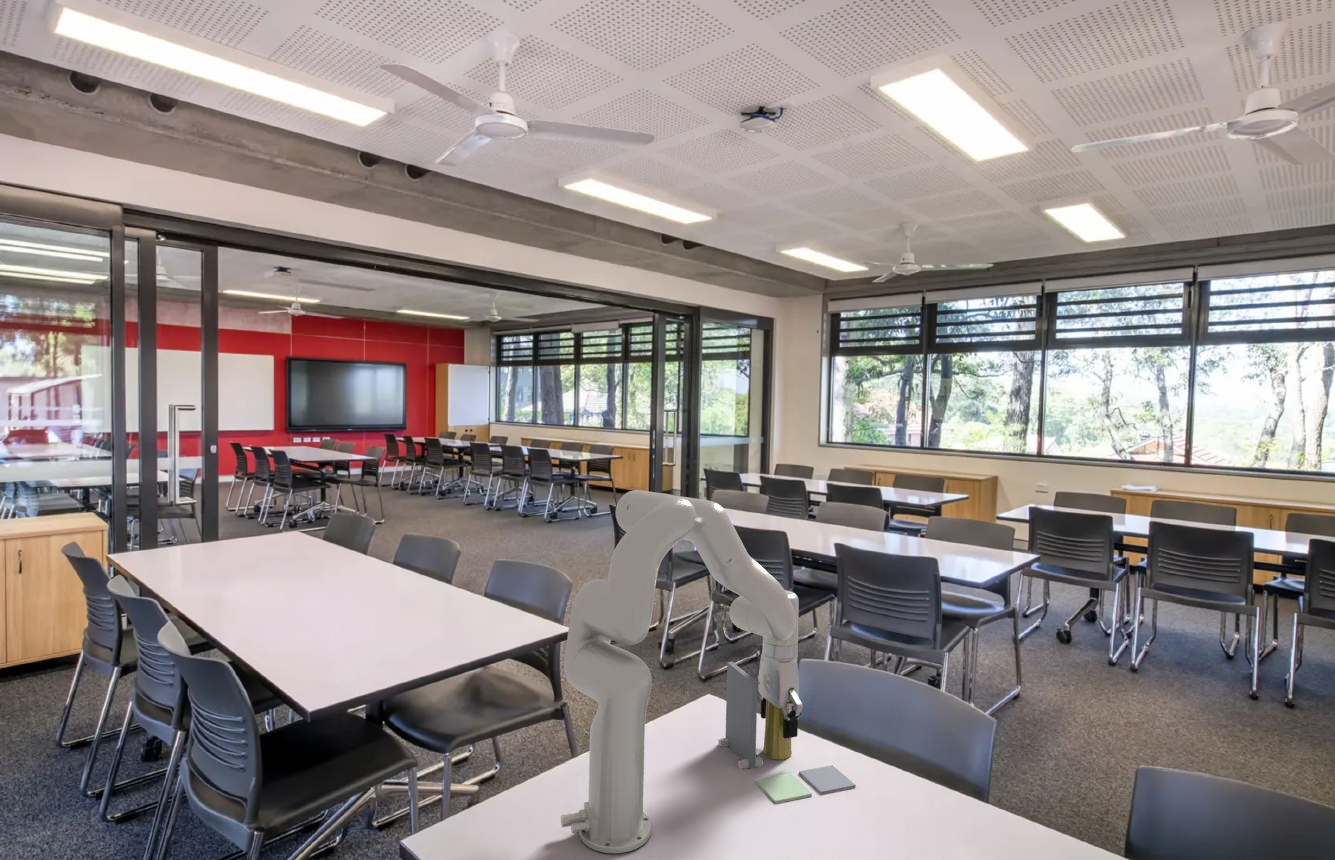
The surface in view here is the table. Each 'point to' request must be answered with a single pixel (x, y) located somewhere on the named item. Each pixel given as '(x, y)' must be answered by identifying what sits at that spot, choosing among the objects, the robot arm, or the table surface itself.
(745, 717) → the screen
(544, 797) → the table surface
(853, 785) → the pad slate
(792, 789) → the pad sage
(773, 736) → the vase
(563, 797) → the table surface
